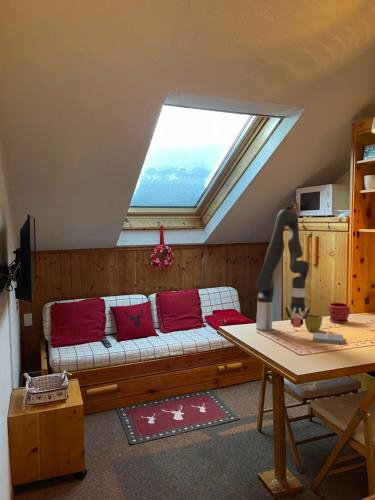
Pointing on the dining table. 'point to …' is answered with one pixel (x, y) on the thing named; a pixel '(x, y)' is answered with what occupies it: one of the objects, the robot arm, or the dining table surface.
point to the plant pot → (339, 312)
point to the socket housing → (296, 321)
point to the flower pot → (313, 322)
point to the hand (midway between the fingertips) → (296, 325)
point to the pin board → (328, 338)
